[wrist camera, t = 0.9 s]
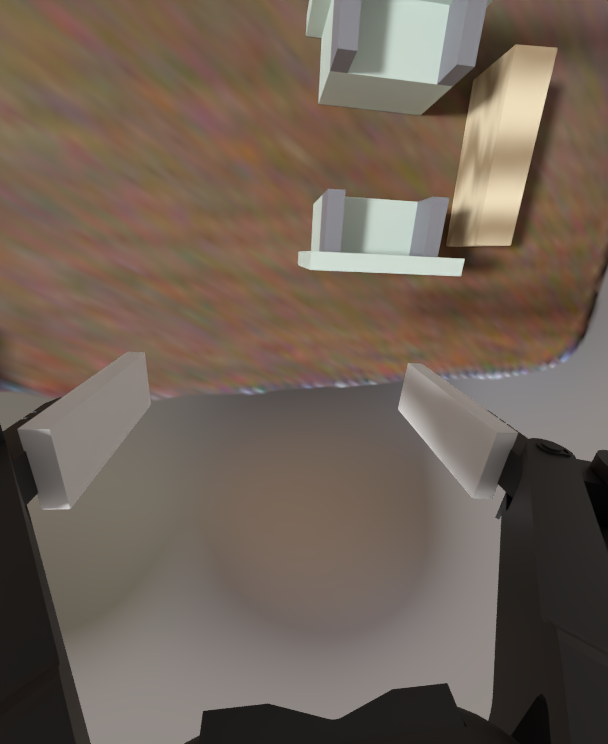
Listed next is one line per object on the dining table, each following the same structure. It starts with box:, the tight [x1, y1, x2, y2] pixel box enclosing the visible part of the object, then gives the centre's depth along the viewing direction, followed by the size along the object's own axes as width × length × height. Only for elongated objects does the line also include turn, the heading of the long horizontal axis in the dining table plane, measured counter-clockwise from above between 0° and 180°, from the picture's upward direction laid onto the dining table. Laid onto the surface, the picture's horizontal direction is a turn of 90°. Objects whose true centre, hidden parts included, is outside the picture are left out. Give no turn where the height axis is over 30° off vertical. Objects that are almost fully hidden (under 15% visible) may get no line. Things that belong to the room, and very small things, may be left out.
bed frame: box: [298, 0, 493, 276], centre depth 23 cm, size 22×14×20 cm, turn 177°
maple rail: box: [446, 44, 558, 247], centre depth 32 cm, size 16×4×6 cm, turn 0°
